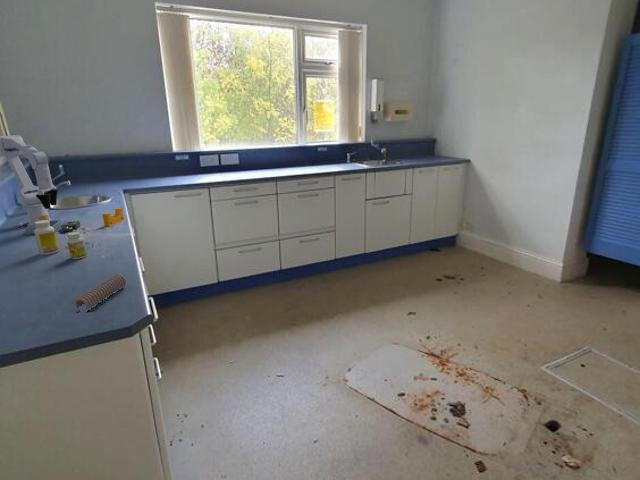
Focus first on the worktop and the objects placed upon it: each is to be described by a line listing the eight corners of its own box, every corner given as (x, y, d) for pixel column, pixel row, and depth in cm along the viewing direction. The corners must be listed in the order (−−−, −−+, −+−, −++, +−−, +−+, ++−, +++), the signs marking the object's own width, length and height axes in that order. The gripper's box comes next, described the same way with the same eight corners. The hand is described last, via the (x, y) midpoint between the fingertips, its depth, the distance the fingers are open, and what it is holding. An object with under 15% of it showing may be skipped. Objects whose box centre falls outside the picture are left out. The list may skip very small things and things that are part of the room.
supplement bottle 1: (63, 250, 155) (56, 220, 151) (48, 256, 150) (39, 224, 145) (51, 249, 158) (44, 218, 153) (35, 254, 152) (27, 223, 148)
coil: (112, 273, 122) (69, 299, 106) (125, 272, 122) (84, 299, 105) (116, 286, 124) (74, 314, 107) (129, 286, 123) (89, 314, 106)
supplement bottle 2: (89, 256, 149) (84, 232, 146) (75, 260, 145) (69, 236, 142) (82, 253, 152) (77, 230, 149) (68, 257, 148) (62, 234, 145)
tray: (36, 227, 187) (35, 221, 186) (63, 225, 190) (61, 219, 189) (26, 234, 177) (24, 228, 176) (54, 232, 179) (53, 226, 178)
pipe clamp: (116, 219, 199) (114, 207, 197) (124, 220, 199) (122, 207, 197) (101, 226, 188) (98, 213, 186) (109, 226, 188) (107, 213, 185)
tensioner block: (66, 226, 188) (65, 221, 187) (80, 225, 189) (79, 220, 188) (58, 233, 178) (57, 227, 177) (73, 232, 179) (72, 226, 179)
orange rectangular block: (44, 228, 184) (40, 215, 182) (51, 227, 185) (47, 215, 183) (41, 230, 181) (38, 217, 179) (49, 229, 182) (45, 216, 180)
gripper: (47, 180, 174) (54, 209, 179) (59, 175, 187) (65, 202, 192) (29, 181, 172) (37, 210, 177) (42, 176, 186) (49, 203, 190)
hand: (50, 206), depth 184 cm, fingers open, 7 cm apart
